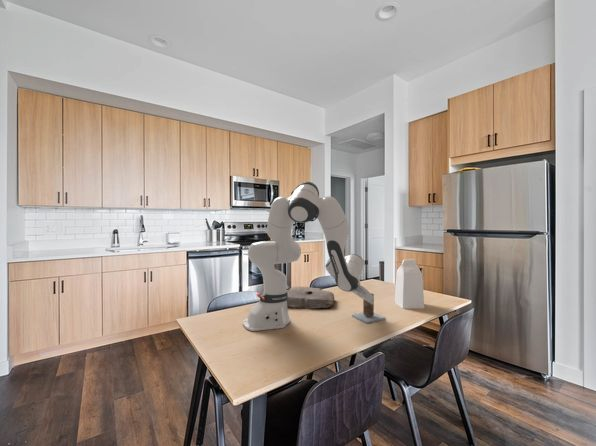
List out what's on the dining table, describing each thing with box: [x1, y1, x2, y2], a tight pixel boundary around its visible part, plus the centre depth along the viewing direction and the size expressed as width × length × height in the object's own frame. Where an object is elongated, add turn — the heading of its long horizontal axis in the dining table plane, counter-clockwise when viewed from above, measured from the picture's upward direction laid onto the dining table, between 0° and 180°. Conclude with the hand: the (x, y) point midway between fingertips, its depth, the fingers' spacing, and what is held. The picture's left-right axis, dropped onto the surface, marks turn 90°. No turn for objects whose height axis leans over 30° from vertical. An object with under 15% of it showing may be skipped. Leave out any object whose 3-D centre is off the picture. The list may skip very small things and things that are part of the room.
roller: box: [362, 292, 375, 316], centre depth 137 cm, size 5×5×10 cm
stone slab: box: [287, 286, 335, 310], centre depth 165 cm, size 31×29×6 cm
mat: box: [351, 312, 387, 324], centre depth 137 cm, size 12×11×1 cm
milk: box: [394, 259, 425, 310], centre depth 156 cm, size 12×12×26 cm
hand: (369, 301), depth 137 cm, fingers closed on roller, 5 cm apart
